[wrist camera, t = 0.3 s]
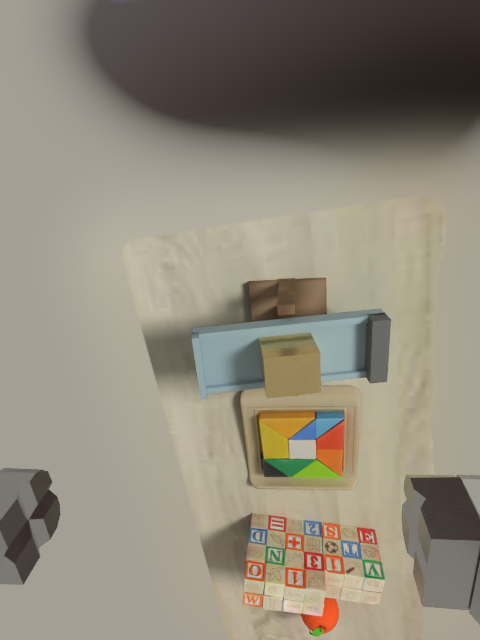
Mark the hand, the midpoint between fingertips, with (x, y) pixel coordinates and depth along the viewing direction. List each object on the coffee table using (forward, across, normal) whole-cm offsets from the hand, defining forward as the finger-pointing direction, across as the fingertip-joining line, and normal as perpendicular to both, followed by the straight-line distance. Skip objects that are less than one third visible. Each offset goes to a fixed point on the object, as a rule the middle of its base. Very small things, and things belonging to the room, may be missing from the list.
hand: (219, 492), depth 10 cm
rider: (+38, 0, +17) cm, 41 cm away
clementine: (+48, -4, +74) cm, 88 cm away
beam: (+39, -1, +17) cm, 42 cm away
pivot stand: (+47, -1, +17) cm, 50 cm away
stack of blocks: (+48, -3, +58) cm, 75 cm away
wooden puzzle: (+48, -2, +37) cm, 60 cm away
